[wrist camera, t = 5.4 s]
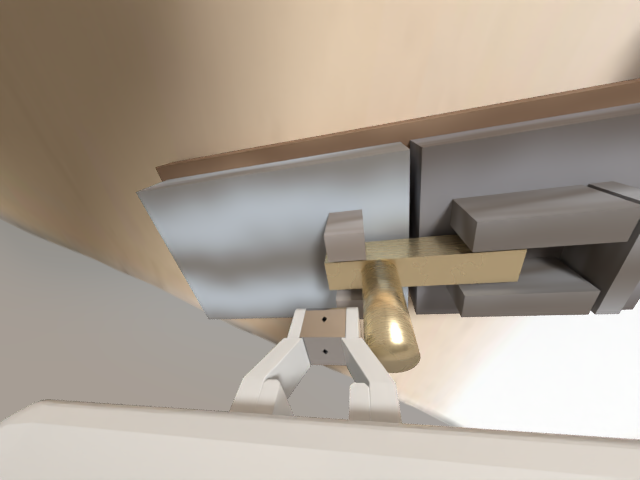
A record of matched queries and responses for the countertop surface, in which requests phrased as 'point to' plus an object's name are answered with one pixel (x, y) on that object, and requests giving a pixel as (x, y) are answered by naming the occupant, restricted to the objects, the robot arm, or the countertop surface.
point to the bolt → (413, 270)
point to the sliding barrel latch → (420, 208)
